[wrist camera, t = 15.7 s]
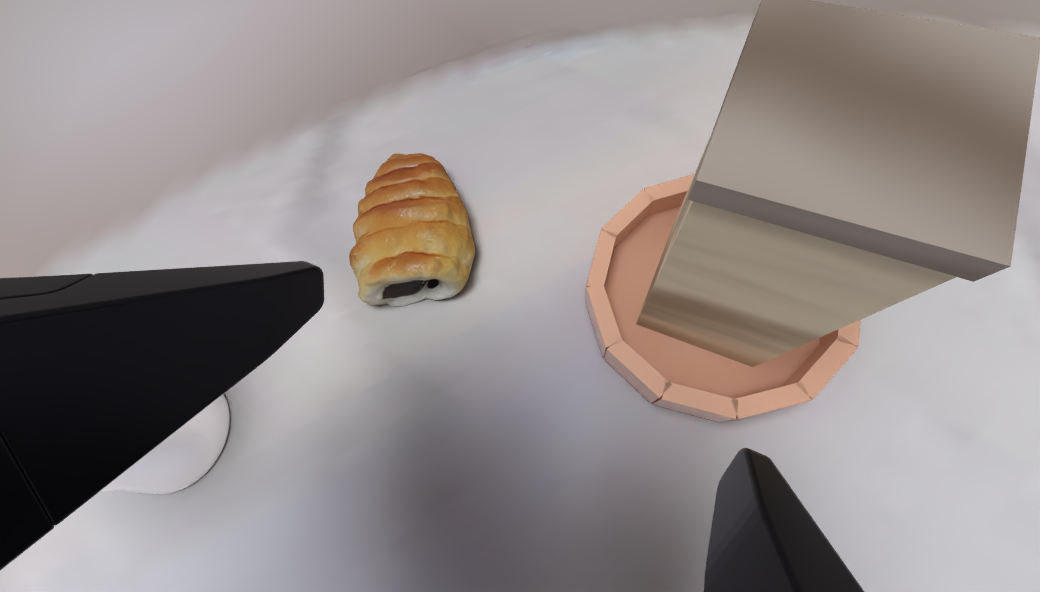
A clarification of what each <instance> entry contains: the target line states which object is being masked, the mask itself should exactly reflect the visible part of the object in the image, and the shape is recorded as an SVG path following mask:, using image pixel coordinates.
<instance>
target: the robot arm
mask: <svg viewBox="0 0 1040 592" xmlns="http://www.w3.org/2000/svg"><path fill="white" fill-rule="evenodd" d="M323 303H324V278H323V272H322V270H321V269H320V268H319V267H318V266H315V265H313V264H311V263H308V262H304V261H298V262H281V263H264V264H247V265H231V266H214V267H197V268H180V269H163V270H146V271H130V272H113V273H97V274H94V275H92V274H78V275H60V276H40V277H19V278H0V570H1V569H3V568H4V567H5V566H6V565H8V564H9V563H10V562H11V561H13V560H14V559H15V558H16V557H18V556H19V555H20V554H22V553H23V552H24V551H25V550H27V549H28V548H29V547H30V546H32V545H33V544H34V543H35V542H37V541H38V540H39V539H41V538H42V537H43V536H44V535H46V534H47V533H48V532H49V531H51V530H52V529H53V528H54V525H57V524H59V523H60V522H61V521H63V520H64V519H65V518H66V517H68V516H69V515H70V514H72V513H73V512H74V511H75V510H77V509H78V508H79V507H80V506H82V505H83V504H84V503H85V502H87V501H88V500H89V499H91V498H92V497H93V496H94V495H96V494H97V493H98V492H99V491H101V490H102V489H103V488H105V487H106V486H107V485H108V484H110V483H111V482H112V481H113V480H115V479H116V478H117V477H118V476H120V475H121V474H122V473H124V472H125V471H126V470H127V469H129V468H130V467H131V466H132V465H134V464H135V463H136V462H137V461H139V460H140V459H141V458H143V457H144V456H145V455H146V454H148V453H149V452H150V451H151V450H153V449H154V448H155V447H157V446H158V445H159V444H160V443H162V442H163V441H164V440H165V439H167V438H168V437H169V436H170V435H172V434H173V433H174V432H176V431H177V430H178V429H179V428H181V427H182V426H183V425H184V424H186V423H187V422H188V421H189V420H191V419H192V418H193V417H195V416H196V415H197V414H198V413H200V412H201V411H202V410H203V409H205V408H206V407H207V406H208V405H210V404H211V403H212V402H214V401H215V400H216V399H217V398H219V397H220V396H221V395H222V394H224V393H225V392H226V391H228V390H229V389H230V388H231V387H233V386H234V385H235V384H236V383H238V382H239V381H240V380H241V379H243V378H244V377H245V376H247V375H248V374H249V373H250V372H252V371H253V370H254V369H255V368H257V367H258V366H259V365H260V364H262V363H263V362H264V361H265V360H267V359H268V358H269V357H270V356H271V355H272V354H274V353H275V352H276V351H277V350H278V349H279V348H280V347H281V346H282V345H283V344H284V343H285V342H286V341H288V340H289V339H290V338H291V337H292V336H293V335H294V334H295V333H296V332H297V331H298V330H299V329H300V328H301V327H302V326H303V325H304V324H305V323H306V322H308V321H309V320H310V319H311V318H312V317H313V316H314V315H315V314H316V313H317V312H318V311H319V310H320V309H321V307H322V305H323ZM704 592H864V591H863V589H862V588H861V586H860V585H859V584H858V582H857V581H856V579H855V578H854V576H853V575H852V574H851V572H850V571H849V569H848V568H847V567H846V565H845V564H844V562H843V561H842V559H841V558H840V557H839V555H838V554H837V552H836V551H835V550H834V548H833V547H832V545H831V544H830V542H829V541H828V540H827V538H826V537H825V535H824V534H823V533H822V531H821V530H820V528H819V527H818V525H817V524H816V523H815V521H814V520H813V518H812V517H811V516H810V514H809V513H808V511H807V510H806V508H805V507H804V506H803V504H802V503H801V501H800V500H799V499H798V497H797V496H796V494H795V493H794V492H793V490H792V489H791V487H790V486H789V484H788V483H787V482H786V480H785V479H784V477H783V476H782V475H781V473H780V472H779V470H778V469H777V467H776V466H775V465H774V463H773V462H772V461H771V459H770V458H768V457H767V456H765V455H762V454H760V453H758V452H755V451H753V450H750V449H748V448H743V449H741V450H740V451H739V452H738V453H737V455H736V456H735V458H734V459H733V461H732V462H731V464H730V465H729V467H728V468H727V470H726V471H725V473H724V474H723V476H722V478H721V480H720V482H719V485H718V488H717V493H716V500H715V507H714V514H713V521H712V528H711V534H710V541H709V548H708V555H707V562H706V570H705V583H704Z"/></svg>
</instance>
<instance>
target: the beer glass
mask: <svg viewBox="0 0 1040 592" xmlns="http://www.w3.org/2000/svg"><path fill="white" fill-rule="evenodd" d="M229 423H230V414H229V407H228V403H227V401H226V398H225V396H224V394H222V395H221V396H220V397H219V398H217V399H216V400H215V401H214V402H212V403H211V404H210V405H208V406H207V407H206V408H205V409H203V410H202V411H201V412H200V413H198V414H197V415H196V416H195V417H193V418H192V419H191V420H189V421H188V422H187V423H186V424H184V425H183V426H182V427H181V428H179V429H178V430H177V431H176V432H174V433H173V434H172V435H170V436H169V437H168V438H167V439H165V440H164V441H163V442H162V443H160V444H159V445H158V446H157V447H155V448H154V449H153V450H151V451H150V452H149V453H148V454H146V455H145V456H144V457H143V458H141V459H140V460H139V461H137V462H136V463H135V464H134V465H132V466H131V467H130V468H129V469H127V470H126V471H125V472H124V473H122V474H121V475H120V476H118V477H117V478H116V479H115V480H113V481H112V482H111V483H110V484H108V485H107V486H106V487H105V488H103V489H102V490H101V491H99V492H107V491H127V492H137V493H147V494H168V493H173V492H176V491H179V490H182V489H184V488H186V487H188V486H190V485H192V484H193V483H195V482H196V481H198V480H199V479H200V478H201V477H202V476H204V475H205V474H206V473H207V472H208V470H209V469H210V468H211V467H212V466H213V464H214V463H215V462H216V460H217V458H218V457H219V455H220V453H221V451H222V449H223V447H224V445H225V442H226V439H227V435H228V431H229Z"/></svg>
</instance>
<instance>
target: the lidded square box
mask: <svg viewBox="0 0 1040 592" xmlns="http://www.w3.org/2000/svg"><path fill="white" fill-rule="evenodd" d="M1039 52H1040V37H1034V36H1028V35H1022V34H1016V33H1009V32H1003V31H997V30H991V29H985V28H978V27H972V26H966V25H960V24H954V23H948V22H941V21H935V20H929V19H923V18H917V17H910V16H904V15H898V14H892V13H886V12H879V11H873V10H867V9H860V8H855V7H849V6H842V5H836V4H830V3H824V2H818V1H811V0H762V1H761V3H760V6H759V8H758V11H757V13H756V15H755V18H754V20H753V23H752V26H751V28H750V31H749V34H748V36H747V39H746V42H745V45H744V47H743V50H742V53H741V56H740V58H739V61H738V64H737V66H736V69H735V72H734V75H733V77H732V80H731V83H730V85H729V88H728V91H727V94H726V96H725V99H724V102H723V104H722V107H721V110H720V113H719V115H718V118H717V121H716V123H715V126H714V129H713V132H712V134H711V137H710V139H709V142H708V144H707V146H706V149H705V151H704V153H703V156H702V158H701V160H700V163H699V165H698V167H697V170H696V172H695V175H694V177H693V179H692V182H691V184H690V186H689V189H688V191H687V193H686V196H685V198H684V200H683V203H682V205H681V208H680V210H679V212H678V215H677V217H676V219H675V222H674V224H673V226H672V229H671V231H670V234H669V237H668V239H667V242H666V245H665V247H664V250H663V253H662V255H661V258H660V261H659V264H658V266H657V269H656V272H655V274H654V277H653V280H652V282H651V285H650V288H649V290H648V293H647V296H646V299H645V301H644V304H643V307H642V309H641V312H640V315H639V317H638V320H637V323H636V324H637V325H640V326H642V327H645V328H648V329H650V330H653V331H656V332H659V333H661V334H664V335H667V336H669V337H672V338H675V339H678V340H680V341H683V342H686V343H688V344H691V345H694V346H696V347H699V348H702V349H705V350H707V351H710V352H713V353H715V354H718V355H721V356H724V357H726V358H729V359H732V360H734V361H737V362H740V363H743V364H745V365H748V366H751V367H754V366H756V365H759V364H761V363H763V362H765V361H768V360H770V359H772V358H775V357H777V356H779V355H781V354H784V353H786V352H788V351H790V350H793V349H795V348H797V347H799V346H802V345H804V344H806V343H808V342H811V341H813V340H815V339H817V338H820V337H822V336H824V335H826V334H829V333H831V332H833V331H835V330H838V329H840V328H842V327H845V326H847V325H849V324H851V323H854V322H856V321H858V320H860V319H863V318H865V317H867V316H869V315H872V314H874V313H876V312H878V311H881V310H883V309H885V308H887V307H890V306H892V305H894V304H896V303H899V302H901V301H903V300H906V299H908V298H910V297H912V296H915V295H917V294H919V293H921V292H924V291H926V290H928V289H930V288H933V287H935V286H937V285H939V284H942V283H944V282H946V281H948V280H951V279H953V278H955V277H959V278H963V279H966V280H970V281H973V282H974V281H976V280H978V279H981V278H983V277H986V276H988V275H991V274H993V273H995V272H998V271H1000V270H1003V269H1005V268H1008V267H1010V266H1011V259H1012V252H1013V244H1014V237H1015V230H1016V222H1017V215H1018V207H1019V200H1020V193H1021V185H1022V178H1023V171H1024V163H1025V156H1026V148H1027V141H1028V134H1029V126H1030V119H1031V111H1032V104H1033V97H1034V89H1035V82H1036V75H1037V67H1038V60H1039Z"/></svg>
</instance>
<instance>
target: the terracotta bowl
mask: <svg viewBox="0 0 1040 592" xmlns="http://www.w3.org/2000/svg"><path fill="white" fill-rule="evenodd" d="M694 175H695V174H693V175H689V176H686V177H682V178H679V179H675V180H672V181H668V182H665V183H661V184H658V185H654V186H650V187H647V188H644V190H643V189H642V190H641V191H640V192H639V193H638V194H637V195H636V196H635V197H634V198H633V199H632V200H631V201H630V202H629V203H628V204H627V205H626V206H625V207H624V208H623V209H621V210H620V211H619V212H618V213H617V214H616V215H615V216H614V217H613V218H612V219H611V220H610V221H609V222H608V223H607V224H606V225H605V226H604V227H603V228H602V230H601V231H600V235H599V239H598V243H597V246H596V250H595V254H594V258H593V262H592V266H591V270H590V274H589V277H588V281H587V285H586V305H587V309H588V312H589V315H590V318H591V321H592V324H593V328H594V331H595V334H596V337H597V340H598V344H599V347H600V350H601V353H602V356H603V358H604V357H605V358H604V360H605V361H606V362H607V363H608V364H609V365H610V366H612V367H613V368H614V369H615V370H616V371H617V372H618V373H619V374H620V375H621V376H622V377H623V378H624V379H625V380H626V381H628V382H629V383H630V384H631V385H632V386H633V387H634V388H635V389H636V390H637V391H638V392H639V393H640V394H641V395H642V396H644V397H645V398H646V399H647V400H648V401H649V402H650V403H651V402H653V404H654V405H657V406H661V407H665V408H668V409H672V410H676V411H679V412H683V413H687V414H690V415H694V416H698V417H701V418H705V419H709V420H712V421H716V422H724V421H730V420H737V419H741V418H745V417H749V416H753V415H757V414H761V413H765V412H769V411H773V410H776V409H780V408H784V407H788V406H792V405H796V404H800V403H804V402H808V401H811V400H812V399H814V398H815V397H816V395H817V394H818V393H819V392H820V391H821V390H822V389H823V387H824V386H825V385H826V384H827V383H828V382H829V381H830V379H831V378H832V377H833V376H834V375H835V374H836V373H837V371H838V370H839V369H840V368H841V367H842V366H843V364H844V363H845V362H846V361H847V360H848V359H849V358H850V356H851V355H852V354H853V353H854V352H855V351H856V350H857V346H859V333H860V320H858V321H856V322H854V323H851V324H849V325H847V326H845V327H842V328H840V329H838V330H835V331H833V332H831V333H829V334H826V335H824V336H822V337H820V338H817V339H815V340H813V341H811V342H808V343H806V344H804V345H802V346H799V347H797V348H795V349H793V350H790V351H788V352H786V353H784V354H781V355H779V356H777V357H775V358H772V359H770V360H768V361H765V362H763V363H761V364H759V365H756V366H754V367H751V366H748V365H745V364H743V363H740V362H737V361H734V360H732V359H729V358H726V357H724V356H721V355H718V354H715V353H713V352H710V351H707V350H705V349H702V348H699V347H696V346H694V345H691V344H688V343H686V342H683V341H680V340H678V339H675V338H672V337H669V336H667V335H664V334H661V333H659V332H656V331H653V330H650V329H648V328H645V327H642V326H640V325H637V324H636V323H637V320H638V317H639V315H640V312H641V309H642V307H643V304H644V301H645V299H646V296H647V293H648V290H649V288H650V285H651V282H652V280H653V277H654V274H655V272H656V269H657V266H658V264H659V261H660V258H661V255H662V253H663V250H664V247H665V245H666V242H667V239H668V237H669V234H670V231H671V229H672V226H673V224H674V222H675V219H676V217H677V215H678V212H679V210H680V208H681V205H682V203H683V200H684V198H685V196H686V193H687V191H688V189H689V186H690V184H691V182H692V179H693V177H694Z"/></svg>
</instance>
